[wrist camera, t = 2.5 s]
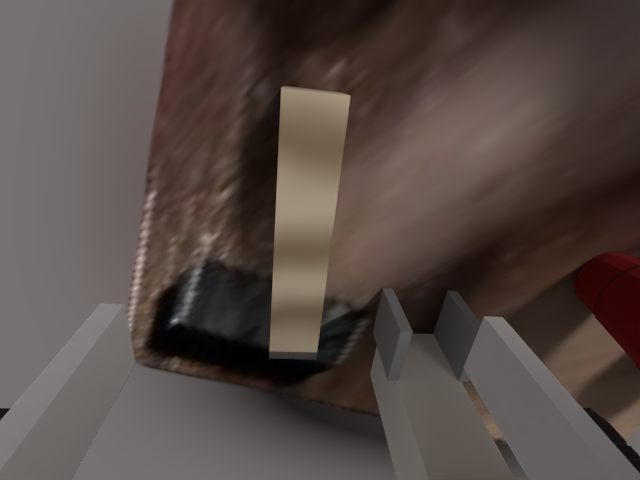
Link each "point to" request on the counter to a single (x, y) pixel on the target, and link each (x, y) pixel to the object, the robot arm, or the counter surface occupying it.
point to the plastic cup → (614, 297)
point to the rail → (304, 215)
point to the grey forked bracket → (431, 396)
